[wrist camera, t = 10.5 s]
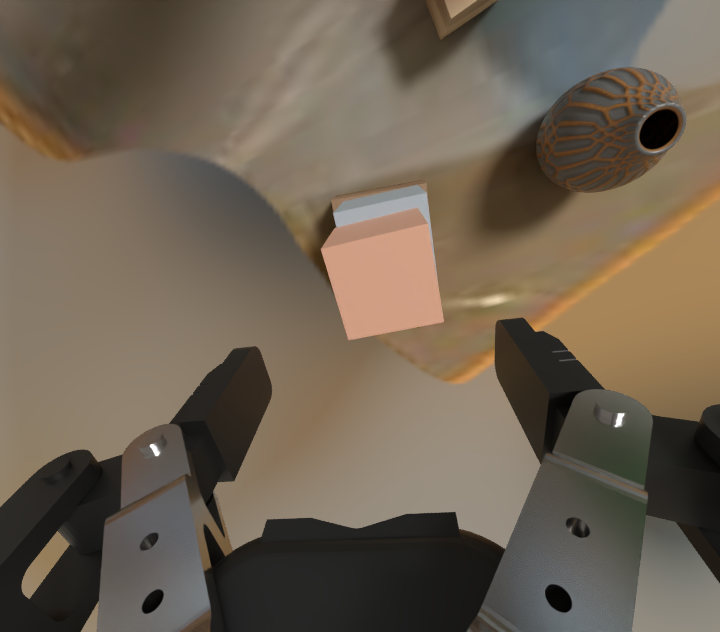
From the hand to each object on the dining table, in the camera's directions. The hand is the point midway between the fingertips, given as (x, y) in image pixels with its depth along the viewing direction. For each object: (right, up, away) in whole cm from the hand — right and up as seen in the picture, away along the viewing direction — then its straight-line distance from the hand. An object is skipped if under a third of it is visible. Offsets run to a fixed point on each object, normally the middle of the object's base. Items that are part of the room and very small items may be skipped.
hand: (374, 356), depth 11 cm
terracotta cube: (+1, +5, +9) cm, 11 cm away
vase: (+15, +15, +14) cm, 25 cm away
